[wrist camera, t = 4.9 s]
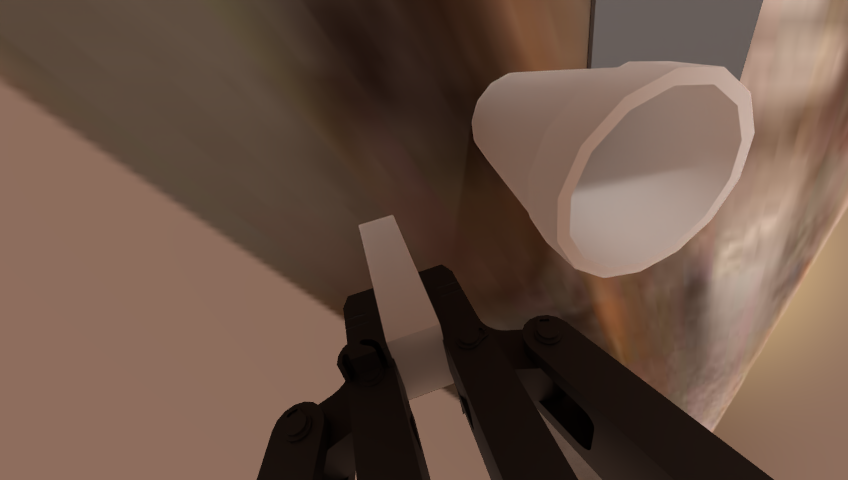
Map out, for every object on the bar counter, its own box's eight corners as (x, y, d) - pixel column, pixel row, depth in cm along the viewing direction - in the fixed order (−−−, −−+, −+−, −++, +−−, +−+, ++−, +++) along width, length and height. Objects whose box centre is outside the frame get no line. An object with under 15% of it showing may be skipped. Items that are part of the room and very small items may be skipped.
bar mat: (593, -35, 22) (598, -36, 22) (779, -79, 24) (786, -80, 23) (579, 192, 31) (582, 194, 30) (715, 149, 32) (719, 150, 32)
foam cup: (593, 86, 26) (789, 129, 15) (525, 195, 29) (648, 292, 19) (493, 17, 22) (667, 12, 11) (428, 153, 25) (514, 248, 15)
